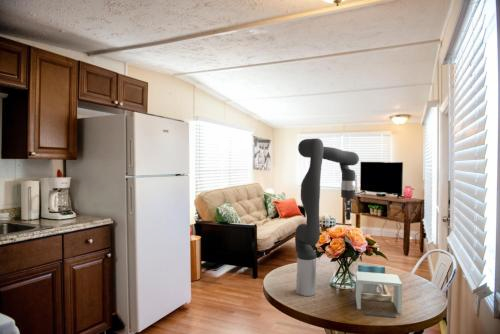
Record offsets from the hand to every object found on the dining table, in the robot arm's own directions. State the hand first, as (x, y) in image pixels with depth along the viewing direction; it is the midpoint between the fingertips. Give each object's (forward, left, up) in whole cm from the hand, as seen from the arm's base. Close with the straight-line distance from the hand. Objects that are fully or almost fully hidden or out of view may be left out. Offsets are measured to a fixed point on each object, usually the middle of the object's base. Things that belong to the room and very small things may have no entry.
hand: (348, 218), depth 186 cm
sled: (+12, -15, -33) cm, 38 cm away
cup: (+11, -22, -33) cm, 41 cm away
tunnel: (+12, -33, -33) cm, 48 cm away
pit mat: (+12, -43, -33) cm, 55 cm away
